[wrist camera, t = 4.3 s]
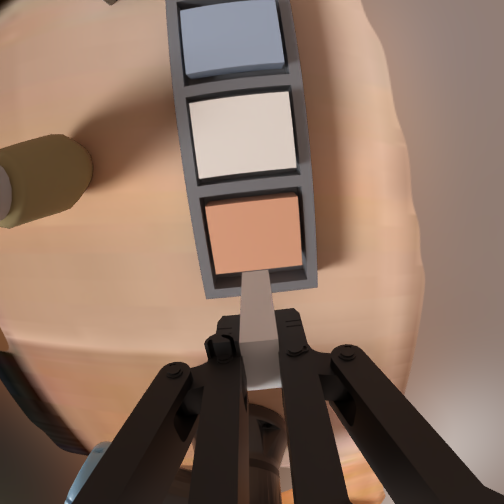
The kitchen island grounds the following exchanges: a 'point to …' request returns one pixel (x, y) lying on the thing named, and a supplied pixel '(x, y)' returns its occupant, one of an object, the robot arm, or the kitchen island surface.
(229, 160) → the off-white key
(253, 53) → the slate key
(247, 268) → the terracotta key
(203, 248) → the grey compartment tray
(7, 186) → the squeeze bottle
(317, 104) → the kitchen island surface
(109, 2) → the digital clock
